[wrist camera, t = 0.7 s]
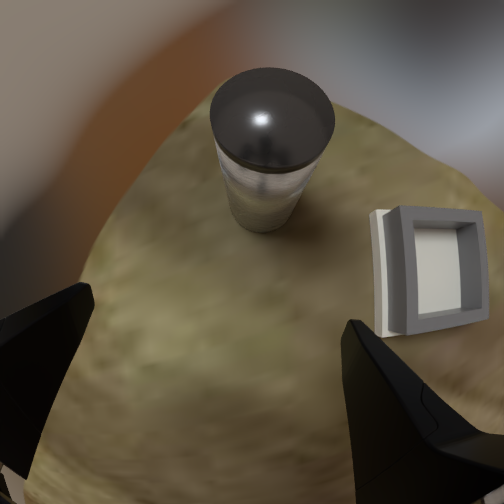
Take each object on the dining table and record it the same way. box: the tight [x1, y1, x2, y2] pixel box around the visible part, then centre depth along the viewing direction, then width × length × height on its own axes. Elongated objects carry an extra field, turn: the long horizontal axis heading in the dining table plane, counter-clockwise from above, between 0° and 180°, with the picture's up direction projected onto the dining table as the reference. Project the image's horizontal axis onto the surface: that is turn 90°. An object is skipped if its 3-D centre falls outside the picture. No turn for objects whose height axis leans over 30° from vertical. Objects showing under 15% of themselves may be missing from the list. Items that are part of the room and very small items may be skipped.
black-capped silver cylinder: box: [210, 68, 335, 233], centre depth 17 cm, size 5×5×12 cm
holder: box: [369, 205, 489, 338], centre depth 20 cm, size 10×10×4 cm
